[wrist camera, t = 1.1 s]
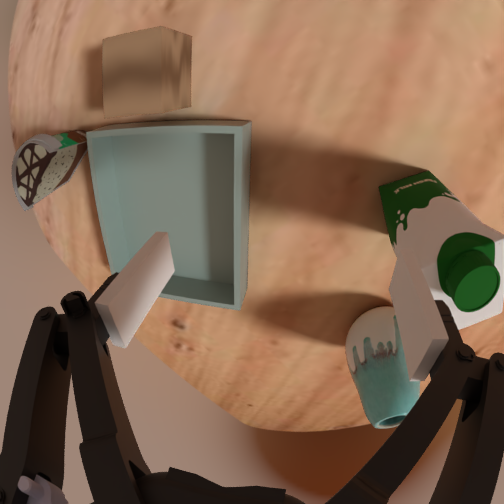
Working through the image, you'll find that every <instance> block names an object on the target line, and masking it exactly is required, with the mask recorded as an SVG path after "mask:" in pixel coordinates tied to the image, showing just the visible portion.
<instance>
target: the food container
mask: <svg viewBox="0 0 504 504" xmlns="http://www.w3.org/2000/svg"><path fill="white" fill-rule="evenodd" d="M87 151H88V146H87V136H86V132H85V131H82V130H75V131H70V132H65V133H61V134H57V135H53V136H50V135H47V134H37V135H35V136H33V137H31V138H30V139H28V140H27V141H26V142H24V143H23V144H22V145H21V147H20V148H19V149H18V150H17V152H16V154H15V156H14V160H13V164H12V182H13V187H14V191H15V194H16V197H17V198H18V201H19V203H20V205H21V206H22V208H23V209H24V211H26V210H28V209H31V208H33V205H34V204H36V203H37V202H39V201H40V200H41V199H43V198H44V197H46V196H47V195H49V194H50V193H52V192H53V191H55V190H56V189H58V188H59V187H61V186H63V185H64V184H66V183H67V182H69V181H70V179H71V177H72V176H73V174H74V172H75V170H76V169H77V167H78V165H79V164H80V162H81V160H82V159H83V157H84V156H85V154H86V152H87Z"/></svg>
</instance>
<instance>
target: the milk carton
mask: <svg viewBox="0 0 504 504" xmlns="http://www.w3.org/2000/svg"><path fill="white" fill-rule="evenodd" d="M379 191H380V195H381V200H382V205H383V210H384V215H385V220H386V225H387V229H388V233H389V237H390V241H391V244H392V247H393V249H394V252H395V254H396V257H397V258H398V254H399V249H406V250H412V251H413V253H414V255H415V257H416V259H417V262H418V264H419V266H420V268H421V270H422V272H423V275H424V277H425V279H426V282H427V284H428V286H429V288H430V291H431V293H432V296H433V298H434V300H443V301H444V302H445V303H446V305H447V306H448V307H449V309H450V311H451V313H452V316H453V318H454V321H455V323H456V325H457V328H458V330H459V329H462V328H465V327H468V326H470V325H473V324H475V323H478V322H480V321H483V320H485V319H488V318H490V317H493V316H495V315H497V314H500V313H502V307H503V298H504V235H503V234H501V233H500V232H498V231H496V230H494V229H493V228H491V227H489V226H487V225H485V224H484V223H482V222H481V221H480V220H479V219H478V218H477V217H476V216H475V215H474V214H473V213H472V212H471V211H470V210H469V209H468V208H467V207H466V206H465V205H464V204H463V203H462V202H461V201H460V200H459V199H458V198H457V197H456V196H455V195H454V194H452V193H451V192H450V191H449V190H448V189H447V188H446V187H445V186H444V185H443V184H442V183H441V182H440V181H439V180H438V179H437V178H436V177H435V176H434V175H433V174H432V173H431V172H430V171H426V172H422V173H419V174H416V175H413V176H410V177H407V178H404V179H401V180H398V181H394V182H391V183H388V184H385V185H382V186H379Z"/></svg>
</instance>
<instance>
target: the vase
mask: <svg viewBox="0 0 504 504" xmlns="http://www.w3.org/2000/svg"><path fill="white" fill-rule="evenodd" d="M345 353H346V359H347V363H348V367H349V370H350V373H351V376H352V379H353V381H354V383H355V386H356V388H357V390H358V393H359V396H360V399H361V403H362V406H363V409H364V412H365V414H366V416H367V418H368V420H369V421H370V423H371V424H372V425H373V426H374V427H375V428H391V427H395V426H398V425H400V423H401V422H402V421H403V419H404V418H405V417H406V415H407V414H408V413H409V411H410V410H411V409H412V407H413V406H414V405H415V403H416V402H417V400H418V399H419V394H420V381H409V375H408V370H407V365H406V359H405V354H404V350H403V345H402V340H401V336H400V331H399V327H398V323H397V319H396V314H395V310H394V307H390V306H383V307H377V308H373V309H371V310H368V311H367V312H365V313H363V314H362V315H361V316H359V317H358V318H357V319H356V320H355V322H354V323H353V324H352V326H351V328H350V329H349V332H348V334H347V338H346V344H345Z"/></svg>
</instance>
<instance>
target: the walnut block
mask: <svg viewBox="0 0 504 504" xmlns="http://www.w3.org/2000/svg"><path fill="white" fill-rule="evenodd" d="M191 53H192V36H190V35H187V34H184V33H181V32H178V31H175V30H172V29H169V28H166V27H163V26H160V27H154V28H149V29H144V30H139V31H134V32H130V33H125V34H121V35H117V36H113V37H110V38H106V39H103V44H102V82H103V107H104V119H105V118H113V117H122V116H132V115H144V114H158V113H165V112H169V111H173V110H177V109H182V108H186V107H191Z"/></svg>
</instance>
